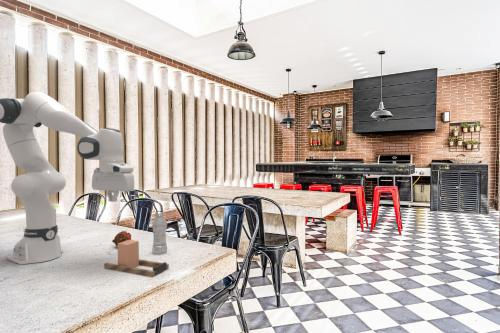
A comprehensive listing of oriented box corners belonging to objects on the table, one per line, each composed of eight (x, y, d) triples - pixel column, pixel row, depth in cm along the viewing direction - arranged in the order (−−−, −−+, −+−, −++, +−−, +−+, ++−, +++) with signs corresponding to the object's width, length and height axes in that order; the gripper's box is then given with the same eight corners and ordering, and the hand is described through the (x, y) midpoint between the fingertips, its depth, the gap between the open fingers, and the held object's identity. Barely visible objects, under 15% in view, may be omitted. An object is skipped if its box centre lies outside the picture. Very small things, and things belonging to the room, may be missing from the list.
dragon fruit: (124, 253, 145) (119, 250, 155) (138, 240, 149) (132, 238, 159) (112, 240, 143) (108, 238, 152) (127, 228, 147) (121, 227, 157)
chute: (104, 271, 117) (104, 261, 117) (122, 263, 125) (122, 254, 125) (152, 280, 107) (152, 269, 107) (168, 271, 116) (168, 261, 116)
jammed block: (117, 268, 116) (117, 243, 116) (129, 263, 122) (129, 239, 121) (127, 270, 114) (127, 244, 114) (139, 265, 120) (138, 240, 119)
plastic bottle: (151, 253, 138) (151, 211, 138) (166, 251, 141) (165, 210, 141) (152, 257, 132) (152, 213, 132) (168, 255, 135) (167, 212, 135)
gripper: (87, 167, 121) (88, 201, 122) (124, 168, 113) (125, 203, 114) (100, 167, 127) (101, 199, 128) (136, 167, 119) (137, 201, 119)
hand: (112, 201), depth 121 cm, fingers closed
